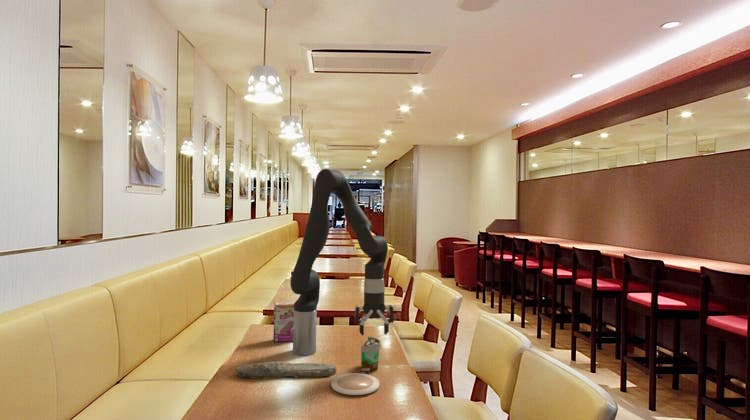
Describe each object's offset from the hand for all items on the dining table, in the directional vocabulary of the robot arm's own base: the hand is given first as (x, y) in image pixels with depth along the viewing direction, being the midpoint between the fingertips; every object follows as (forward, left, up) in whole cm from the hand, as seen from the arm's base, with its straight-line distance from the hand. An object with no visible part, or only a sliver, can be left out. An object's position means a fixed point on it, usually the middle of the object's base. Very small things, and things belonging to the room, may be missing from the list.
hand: (373, 334), depth 163 cm
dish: (-8, -15, -13) cm, 21 cm away
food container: (0, 0, -13) cm, 13 cm away
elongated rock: (-31, -2, -13) cm, 34 cm away
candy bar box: (-33, +37, -13) cm, 51 cm away
